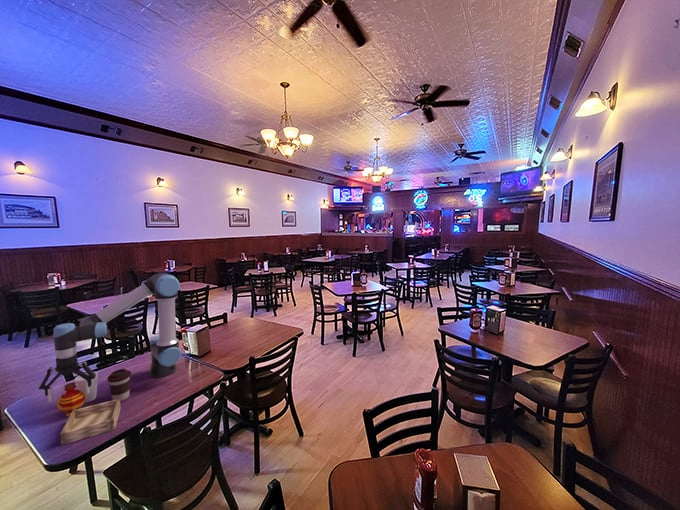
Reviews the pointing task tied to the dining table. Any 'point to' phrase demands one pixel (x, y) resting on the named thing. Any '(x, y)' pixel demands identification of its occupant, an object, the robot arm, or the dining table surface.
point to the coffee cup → (119, 384)
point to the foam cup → (93, 388)
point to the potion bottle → (71, 399)
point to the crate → (91, 421)
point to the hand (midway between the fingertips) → (69, 396)
